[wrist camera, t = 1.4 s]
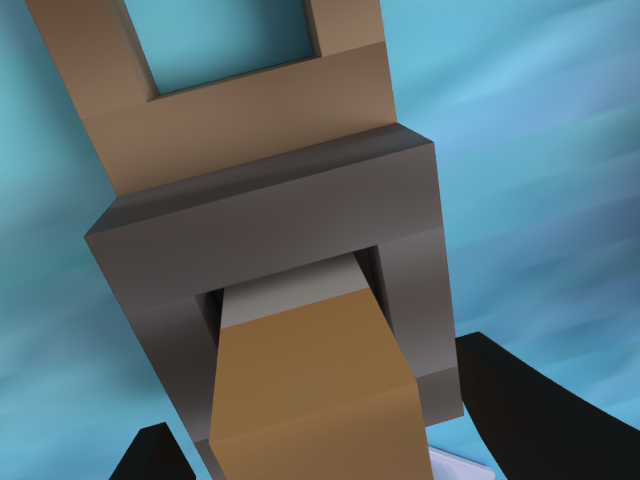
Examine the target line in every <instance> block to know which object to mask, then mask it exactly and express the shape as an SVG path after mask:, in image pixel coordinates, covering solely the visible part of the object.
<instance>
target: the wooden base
mask: <svg viewBox="0 0 640 480" xmlns="http://www.w3.org/2000/svg"><path fill="white" fill-rule="evenodd" d="M25 2H26V4H27V6H28V9H29V11H30V13H31V15H32V17H33V19H34V21H35V23H36V26H37V28H38V30H39V32H40V34H41V36H42V38H43V40H44V43H45V45H46V47H47V49H48V51H49V53H50V55H51V57H52V60H53V62H54V64H55V66H56V68H57V70H58V72H59V74H60V76H61V79H62V81H63V83H64V85H65V87H66V89H67V91H68V93H69V96H70V98H71V100H72V102H73V104H74V106H75V108H76V110H77V113H78V115H79V117H80V119H81V121H82V123H83V125H84V127H85V130H86V132H87V134H88V136H89V138H90V140H91V142H92V144H93V146H94V149H95V151H96V153H97V155H98V157H99V159H100V161H101V163H102V166H103V168H104V170H105V172H106V174H107V176H108V178H109V180H110V183H111V185H112V187H113V189H114V191H115V193H116V195H117V198H116V199H115V201H114V202H113V203H112V204H111V205H110V206H109V208H108V209H107V210H106V211H105V212H104V213H103V215H102V216H101V217H100V218H99V219H98V221H97V222H96V223H95V224H94V225H93V226H92V228H91V229H90V230H89V231H88V232H87V233H86V235H85V236H84V239H85V241H86V242H87V244H88V246H89V248H90V250H91V252H92V254H93V256H94V257H95V259H96V261H97V263H98V265H99V267H100V269H101V271H102V272H103V274H104V276H105V278H106V280H107V282H108V284H109V286H110V287H111V289H112V291H113V293H114V295H115V297H116V299H117V301H118V302H119V304H120V306H121V308H122V310H123V312H124V314H125V316H126V317H127V319H128V321H129V323H130V325H131V327H132V329H133V331H134V333H135V334H136V336H137V338H138V340H139V342H140V344H141V346H142V348H143V349H144V351H145V353H146V355H147V357H148V359H149V361H150V363H151V364H152V366H153V368H154V370H155V372H156V374H157V376H158V378H159V379H160V381H161V383H162V385H163V387H164V389H165V391H166V393H167V394H168V396H169V398H170V400H171V402H172V404H173V406H174V408H175V409H176V411H177V413H178V415H179V417H180V419H181V421H182V423H183V424H184V426H185V428H186V430H187V432H188V434H189V436H190V438H191V439H192V441H193V443H194V445H195V447H196V449H197V451H198V453H199V454H200V456H201V458H202V460H203V462H204V464H205V466H206V468H207V469H208V471H209V473H210V475H211V477H212V479H213V480H227V479H226V477H225V475H224V473H223V471H222V469H221V467H220V465H219V463H218V461H217V459H216V457H215V455H214V453H213V451H212V449H211V447H210V445H209V437H210V427H211V417H212V407H213V397H214V387H215V377H216V367H217V357H218V347H219V337H220V327H221V317H222V307H223V298H224V288H225V287H227V286H230V285H234V284H237V283H241V282H245V281H248V280H252V279H255V278H259V277H263V276H266V275H270V274H273V273H277V272H281V271H284V270H288V269H291V268H295V267H298V266H302V265H306V264H309V263H313V262H316V261H320V260H324V259H327V258H331V257H334V256H338V255H342V254H345V253H349V252H353V254H354V256H355V258H356V260H357V262H358V264H359V266H360V268H361V270H362V272H363V275H364V277H365V279H366V281H367V283H368V285H369V287H370V289H371V291H372V293H373V295H374V297H375V299H376V301H377V303H378V305H379V307H380V309H381V311H382V313H383V315H384V317H385V319H386V321H387V323H388V325H389V327H390V329H391V331H392V333H393V335H394V337H395V339H396V341H397V343H398V345H399V347H400V349H401V351H402V353H403V355H404V357H405V359H406V361H407V364H408V366H409V368H410V370H411V372H412V374H413V376H414V378H415V380H416V382H417V385H418V391H419V397H420V402H421V408H422V414H423V420H424V426H425V427H427V426H431V425H434V424H438V423H441V422H444V421H448V420H451V419H454V418H458V417H461V416H464V410H463V401H462V399H461V391H460V382H459V373H458V364H457V355H456V345H455V338H456V337H455V328H454V319H453V310H452V301H451V292H450V283H449V274H448V265H447V256H446V246H445V237H444V228H443V219H442V210H441V201H440V192H439V183H438V174H437V165H436V156H435V146H434V142H433V141H431V140H429V139H427V138H425V137H423V136H422V135H420V134H418V133H416V132H414V131H412V130H410V129H409V128H407V127H405V126H403V125H401V124H399V123H397V118H396V111H395V104H394V98H393V91H392V84H391V77H390V70H389V63H388V56H387V50H386V43H385V36H384V29H383V22H382V15H381V9H380V2H379V0H301V2H302V7H303V11H304V16H305V21H306V25H307V30H308V34H309V39H310V44H311V48H312V53H313V55H312V56H308V57H304V58H300V59H296V60H293V61H289V62H285V63H281V64H277V65H273V66H269V67H266V68H262V69H258V70H254V71H250V72H246V73H242V74H239V75H235V76H231V77H227V78H223V79H219V80H215V81H212V82H208V83H204V84H200V85H196V86H192V87H188V88H185V89H181V90H177V91H173V92H169V93H165V94H161V95H160V94H159V92H158V89H157V87H156V84H155V81H154V79H153V76H152V73H151V71H150V68H149V66H148V63H147V60H146V58H145V55H144V52H143V50H142V47H141V45H140V42H139V39H138V37H137V34H136V31H135V29H134V26H133V24H132V21H131V18H130V16H129V13H128V10H127V8H126V5H125V3H124V0H25Z"/></svg>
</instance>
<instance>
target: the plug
mask: <svg viewBox="0 0 640 480" xmlns="http://www.w3.org/2000/svg"><path fill="white" fill-rule="evenodd" d="M209 445H210V447H211V449H212V451H213V453H214V455H215V457H216V459H217V461H218V463H219V465H220V467H221V469H222V471H223V473H224V475H225V477H226V479H227V480H434V478H433V472H432V467H431V461H430V455H429V449H428V443H427V437H426V432H425V426H424V420H423V414H422V408H421V402H420V397H419V391H418V385H417V382H416V380H415V378H414V376H413V374H412V372H411V370H410V368H409V366H408V364H407V361H406V359H405V357H404V355H403V353H402V351H401V349H400V347H399V345H398V343H397V341H396V339H395V337H394V335H393V333H392V331H391V329H390V327H389V325H388V323H387V321H386V319H385V317H384V315H383V313H382V311H381V309H380V307H379V305H378V303H377V301H376V299H375V297H374V295H373V293H372V291H371V289H370V287H369V285H368V283H367V281H366V279H365V277H364V275H363V272H362V270H361V268H360V266H359V264H358V262H357V260H356V258H355V256H354V254H353V252H349V253H345V254H342V255H338V256H334V257H331V258H327V259H324V260H320V261H316V262H313V263H309V264H306V265H302V266H298V267H295V268H291V269H288V270H284V271H281V272H277V273H273V274H270V275H266V276H263V277H259V278H255V279H252V280H248V281H245V282H241V283H237V284H234V285H230V286H227V287H225V288H224V298H223V307H222V317H221V327H220V337H219V347H218V357H217V367H216V377H215V387H214V397H213V407H212V417H211V427H210V437H209Z"/></svg>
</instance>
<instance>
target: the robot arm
mask: <svg viewBox="0 0 640 480" xmlns="http://www.w3.org/2000/svg"><path fill="white" fill-rule="evenodd" d="M455 345H456V355H457V364H458V373H459V382H460V391H461V399H462V401H463V403H464V405H465V407H466V409H467V411H468V413H469V415H470V417H471V419H472V421H473V423H474V425H475V427H476V429H477V431H478V433H479V435H480V437H481V438H482V440H483V442H484V443H485V445H486V446H487V448H488V450H489V451H490V453H491V454H492V456H493V457H494V459H495V461H496V462H497V464H498V465H499V467H500V468H501V470H502V472H503V473H504V475H505V476H506V478H507V479H508V480H640V431H639V430H637V429H635V428H633V427H632V426H630V425H628V424H626V423H624V422H622V421H620V420H619V419H617V418H615V417H613V416H611V415H609V414H608V413H606V412H604V411H602V410H601V409H599V408H597V407H595V406H594V405H592V404H590V403H588V402H587V401H585V400H583V399H582V398H580V397H578V396H577V395H575V394H573V393H571V392H570V391H568V390H567V389H565V388H563V387H562V386H560V385H559V384H557V383H555V382H554V381H552V380H551V379H549V378H548V377H546V376H544V375H543V374H541V373H540V372H538V371H537V370H535V369H534V368H532V367H530V366H529V365H527V364H526V363H525V362H523V361H522V360H520V359H519V358H517V357H516V356H514V355H513V354H511V353H510V352H508V351H507V350H505V349H504V348H503V347H501V346H500V345H498V344H497V343H495V342H494V341H492V340H491V339H490V338H488V337H487V336H485V335H484V334H482V333H481V332H479V331H478V332H475V333H471V334H468V335H464V336H461V337H457V338H455ZM428 449H429V455H430V461H431V467H432V472H433V478H434V480H494V479H495V474H494V472H493V470H492V469H491V468H489V467H486V466H483V465H481V464H478V463H475V462H472V461H469V460H466V459H464V458H461V457H458V456H455V455H452V454H449V453H447V452H444V451H441V450H438V449H435V448H432V447H430V446H428ZM109 480H196V475H195V474H194V472H193V470H192V468H191V466H190V465H189V463H188V461H187V459H186V458H185V456H184V454H183V452H182V450H181V449H180V447H179V445H178V443H177V442H176V440H175V438H174V436H173V434H172V433H171V431H170V429H169V427H168V426H167V424H166V422H163V423H160V424H156V425H153V426H150V427H146V428H143V429H140V431H139V432H138V434H137V435H136V437H135V438H134V440H133V441H132V443H131V445H130V446H129V448H128V449H127V451H126V453H125V454H124V456H123V458H122V459H121V461H120V462H119V464H118V466H117V467H116V469H115V470H114V472H113V474H112V475H111V477H110V478H109Z"/></svg>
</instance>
